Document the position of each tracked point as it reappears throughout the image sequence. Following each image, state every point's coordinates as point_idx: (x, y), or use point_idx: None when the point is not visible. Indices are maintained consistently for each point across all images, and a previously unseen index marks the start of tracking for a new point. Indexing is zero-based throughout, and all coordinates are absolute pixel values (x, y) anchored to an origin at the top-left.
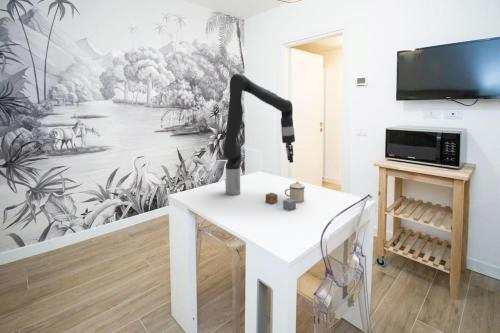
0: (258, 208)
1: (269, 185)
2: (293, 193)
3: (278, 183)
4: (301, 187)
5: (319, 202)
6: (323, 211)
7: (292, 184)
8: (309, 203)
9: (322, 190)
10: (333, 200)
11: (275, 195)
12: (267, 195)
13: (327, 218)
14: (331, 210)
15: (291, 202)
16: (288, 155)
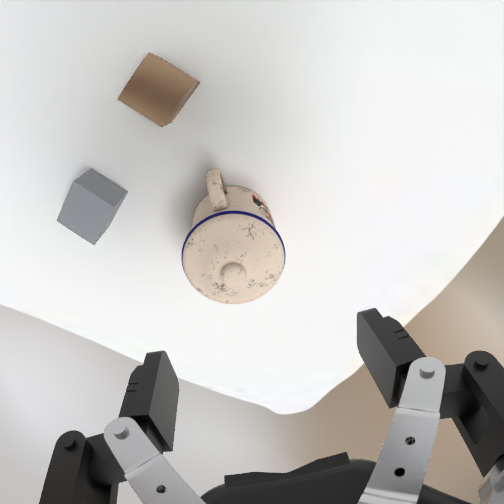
0: (67, 53)
1: (460, 72)
2: (191, 226)
3: (489, 125)
4: (197, 290)
5: (217, 318)
6: (120, 326)
7: (229, 237)
8: None
9: None
10: (254, 361)
11: (147, 117)
12: (139, 67)
13: (69, 330)
14: (141, 349)
15: (66, 225)
16: (118, 427)
